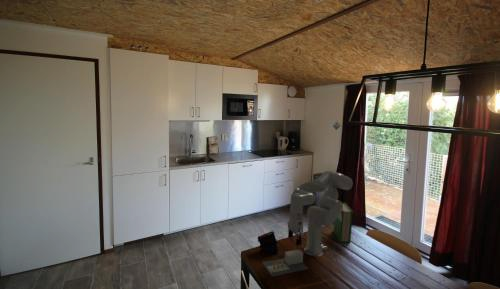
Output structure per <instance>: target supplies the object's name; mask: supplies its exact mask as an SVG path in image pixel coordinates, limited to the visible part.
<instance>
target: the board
mask: <svg viewBox="0 0 500 289" xmlns="http://www.w3.org/2000/svg"><path fill="white" fill-rule="evenodd" d="M261 264H262V265H263V266H264V267H265V269H266V271H267V272H268V274H269V275H270V277H276V276H281V275H285V274H290V273H296V272H301V271H304V270H309V267H307V265H306V264H305V263H304V261H303V262H302V263H297V264H291V265H288V264H287V263H286V262H285V257H283V258H279V259H275V260H274V259H273V260H267V261H262V263H261Z"/></svg>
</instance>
